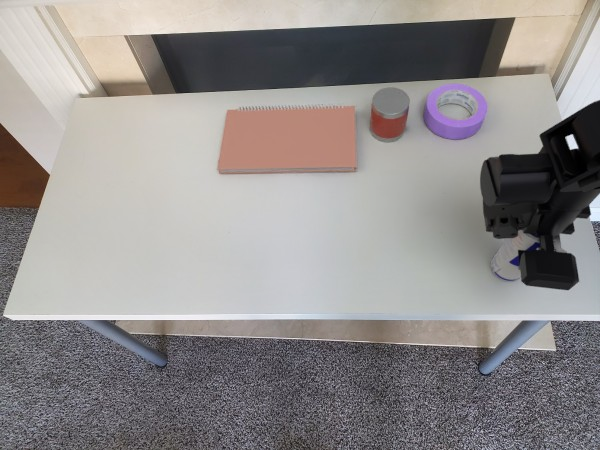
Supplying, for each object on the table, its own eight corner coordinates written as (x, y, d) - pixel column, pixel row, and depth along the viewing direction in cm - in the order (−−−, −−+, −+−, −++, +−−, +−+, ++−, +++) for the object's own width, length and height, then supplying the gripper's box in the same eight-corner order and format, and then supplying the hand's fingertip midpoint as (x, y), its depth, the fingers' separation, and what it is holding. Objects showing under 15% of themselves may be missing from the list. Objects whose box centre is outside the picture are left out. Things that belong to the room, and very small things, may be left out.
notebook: (354, 108, 94) (355, 101, 93) (356, 172, 86) (356, 165, 84) (229, 111, 97) (227, 105, 95) (219, 174, 89) (217, 168, 87)
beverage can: (519, 287, 72) (557, 246, 59) (486, 277, 73) (517, 235, 60) (523, 260, 74) (561, 215, 61) (492, 251, 76) (523, 205, 63)
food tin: (405, 117, 92) (410, 87, 85) (404, 143, 89) (409, 115, 82) (371, 115, 93) (373, 86, 86) (368, 141, 90) (370, 113, 83)
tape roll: (478, 96, 93) (483, 82, 90) (486, 139, 87) (492, 126, 84) (421, 97, 94) (424, 83, 91) (425, 140, 89) (428, 127, 85)
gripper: (493, 127, 59) (463, 192, 73) (502, 252, 50) (466, 300, 64) (582, 134, 58) (534, 199, 71) (608, 263, 49) (548, 309, 62)
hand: (519, 248), depth 67 cm, fingers closed on beverage can, 6 cm apart
